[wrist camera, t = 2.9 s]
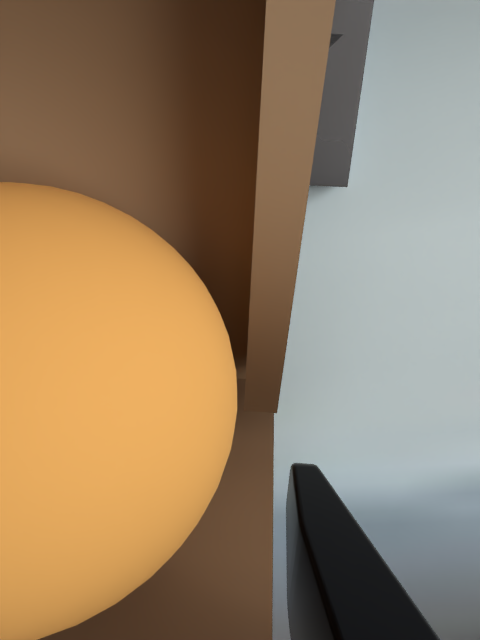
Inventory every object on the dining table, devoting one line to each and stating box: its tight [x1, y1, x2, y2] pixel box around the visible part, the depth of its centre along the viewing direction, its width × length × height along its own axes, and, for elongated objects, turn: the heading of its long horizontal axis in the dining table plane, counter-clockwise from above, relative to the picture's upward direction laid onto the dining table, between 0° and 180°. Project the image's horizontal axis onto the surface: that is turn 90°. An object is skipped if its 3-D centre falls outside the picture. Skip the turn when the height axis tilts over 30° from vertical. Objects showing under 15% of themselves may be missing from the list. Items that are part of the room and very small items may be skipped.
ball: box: [0, 182, 237, 640], centre depth 4 cm, size 4×4×4 cm
